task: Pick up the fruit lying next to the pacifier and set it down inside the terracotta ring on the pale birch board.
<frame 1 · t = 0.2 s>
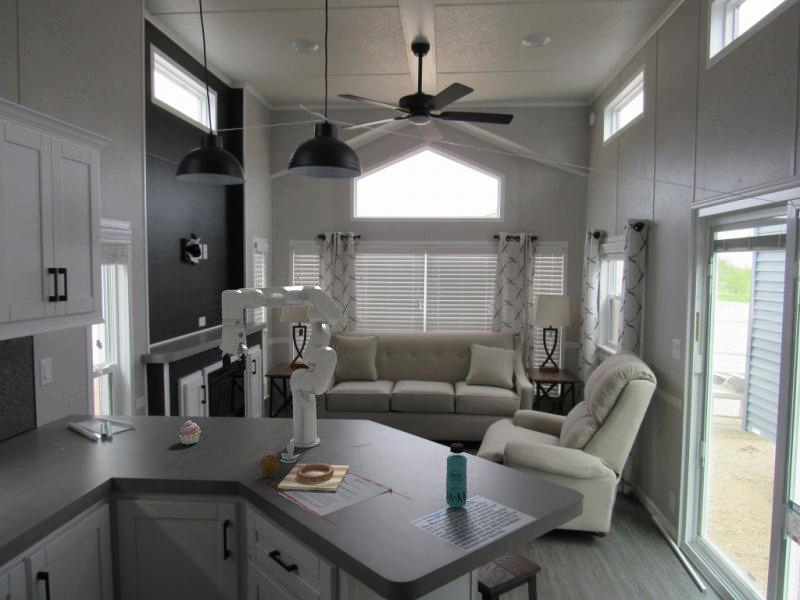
hand: (234, 369, 200), 37 cm above the table, tool pointing down, fingers open, 9 cm apart
pacifier: (289, 461, 208), on the table
cupcake: (190, 443, 229), on the table
ring board: (315, 478, 190), on the table
beverage bottle: (456, 508, 167), on the table
fruit: (269, 477, 192), on the table
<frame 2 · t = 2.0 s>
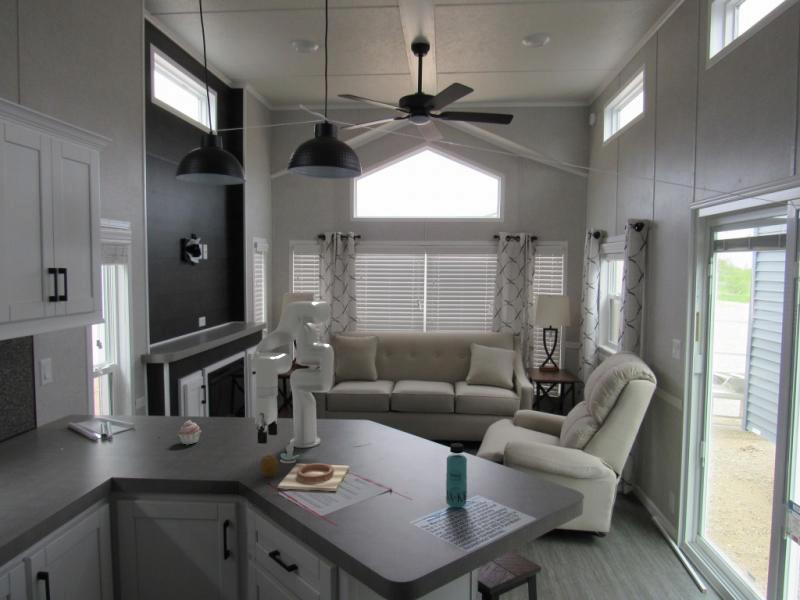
hand: (267, 438, 191), 14 cm above the table, tool pointing down, fingers open, 9 cm apart
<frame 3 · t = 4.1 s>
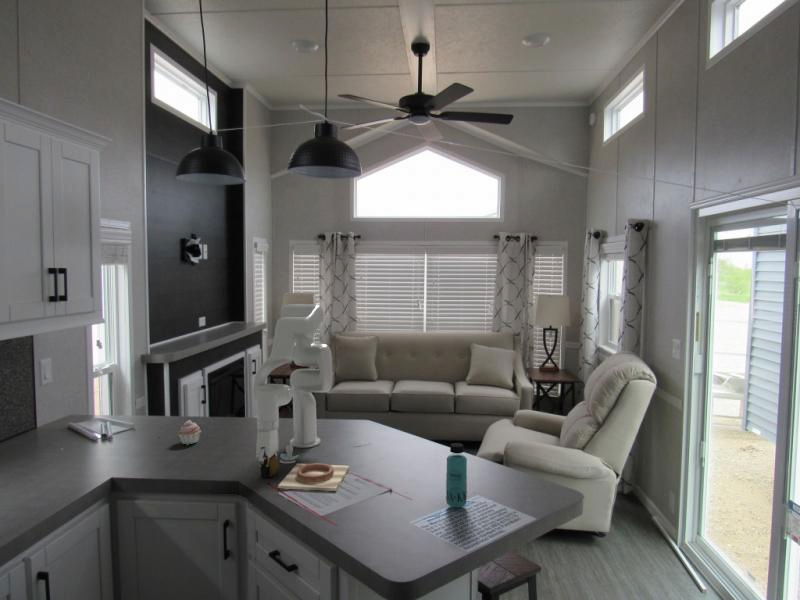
hand: (269, 473, 192), 1 cm above the table, tool pointing down, fingers closed on fruit, 6 cm apart
fruit: (269, 476, 192), on the table, touching gripper
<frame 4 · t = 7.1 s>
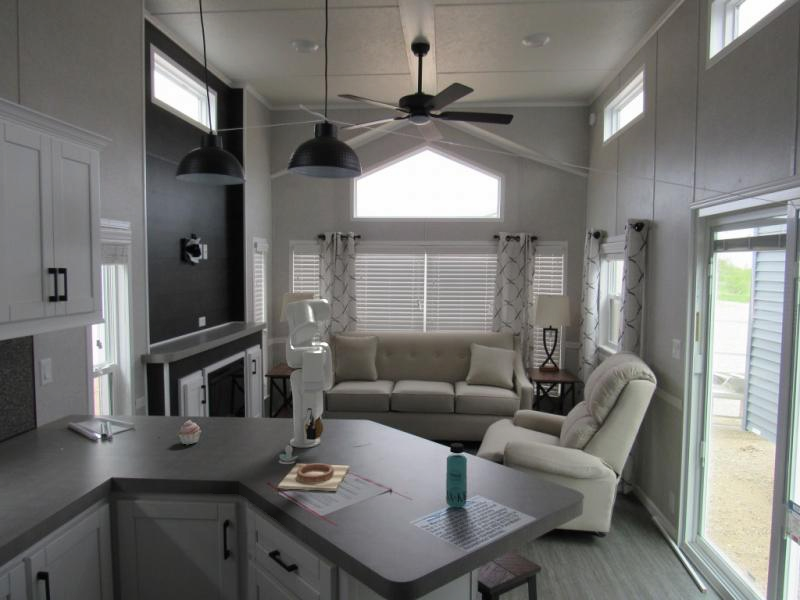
hand: (314, 435, 189), 15 cm above the table, tool pointing down, fingers closed on fruit, 6 cm apart
fruit: (314, 439, 189), point 14 cm above the table, touching gripper
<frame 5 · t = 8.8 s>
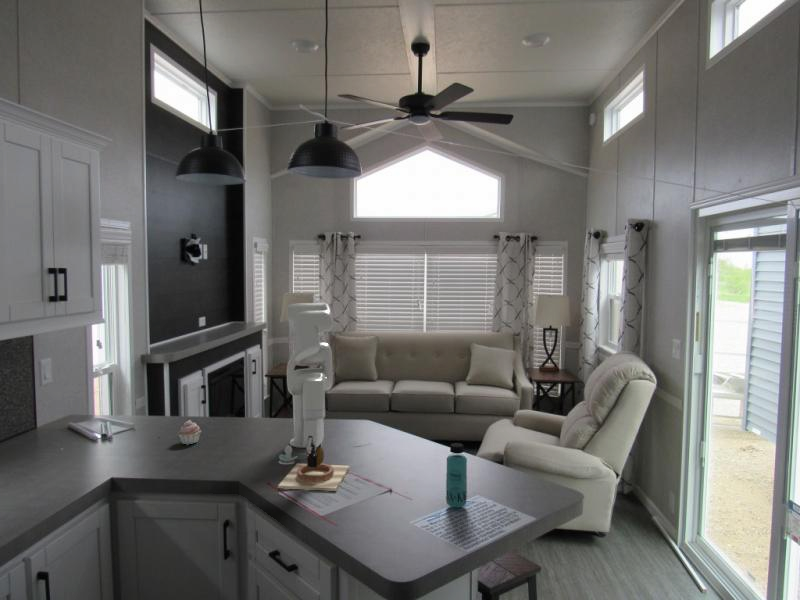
hand: (315, 462, 190), 6 cm above the table, tool pointing down, fingers closed on fruit, 6 cm apart
fruit: (315, 466, 190), point 4 cm above the table, touching gripper
when the fingers open (4 cm above the table, at t = 10.1 s): fruit drops 1 cm, resting on ring board.
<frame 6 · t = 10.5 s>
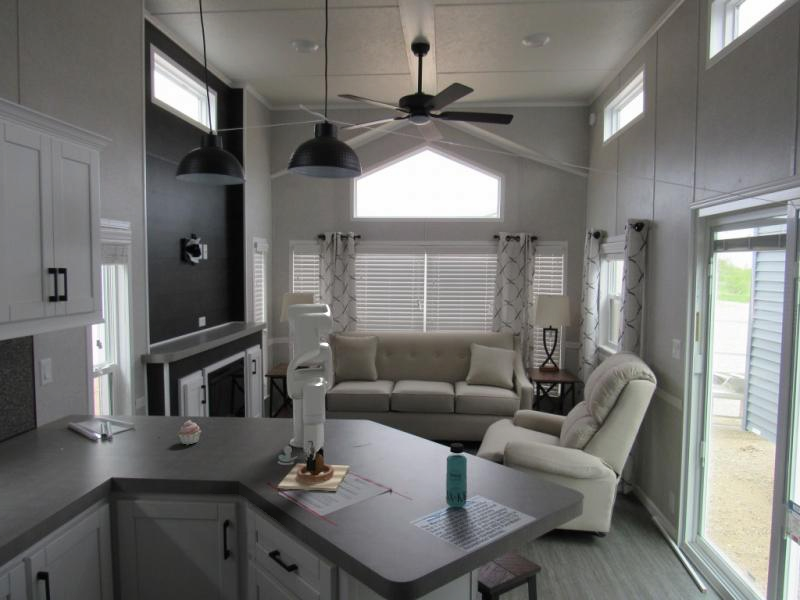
hand: (315, 465, 190), 5 cm above the table, tool pointing down, fingers open, 9 cm apart
fruit: (315, 475, 190), point 1 cm above the table, touching ring board
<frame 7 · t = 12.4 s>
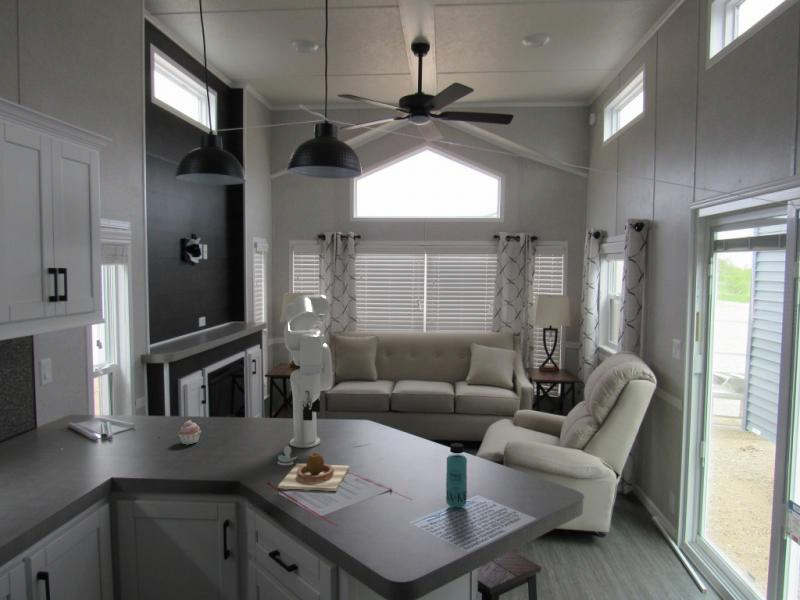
hand: (311, 415, 192), 22 cm above the table, tool pointing down, fingers open, 9 cm apart
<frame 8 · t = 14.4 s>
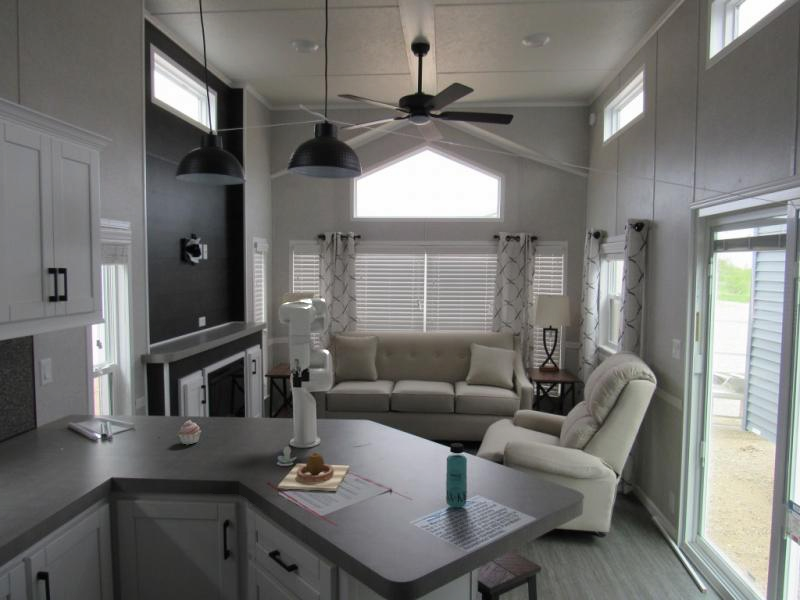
hand: (301, 384, 203), 30 cm above the table, tool pointing down, fingers open, 9 cm apart
at the end: fruit 0.4 cm from the ring board (horizontally); fruit point 1.0 cm above the table; the gripper is holding nothing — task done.
